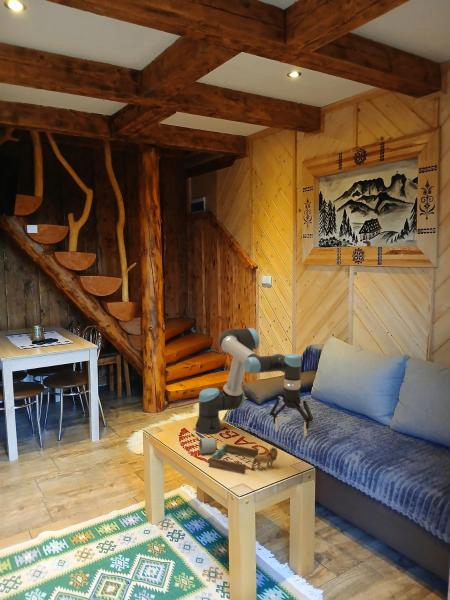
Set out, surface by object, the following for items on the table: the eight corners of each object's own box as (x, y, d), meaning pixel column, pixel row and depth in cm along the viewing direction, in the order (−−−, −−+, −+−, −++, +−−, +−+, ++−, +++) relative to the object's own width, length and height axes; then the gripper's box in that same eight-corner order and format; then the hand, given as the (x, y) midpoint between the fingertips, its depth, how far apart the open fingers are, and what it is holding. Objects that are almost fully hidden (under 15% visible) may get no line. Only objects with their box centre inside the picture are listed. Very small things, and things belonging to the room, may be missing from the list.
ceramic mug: (217, 454, 237) (217, 440, 237) (201, 456, 235) (201, 441, 235) (212, 447, 247) (212, 432, 247) (197, 448, 245) (197, 434, 245)
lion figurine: (273, 463, 229) (273, 445, 228) (279, 467, 225) (280, 448, 224) (248, 469, 222) (248, 450, 221) (254, 473, 217) (254, 454, 217)
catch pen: (225, 451, 242) (225, 443, 242) (258, 457, 235) (258, 449, 235) (208, 466, 223) (209, 458, 223) (244, 473, 217) (244, 465, 216)
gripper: (263, 386, 217) (262, 431, 219) (317, 393, 207) (315, 440, 209) (268, 382, 224) (267, 426, 226) (320, 389, 214) (319, 434, 216)
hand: (290, 433), depth 217 cm, fingers open, 13 cm apart
